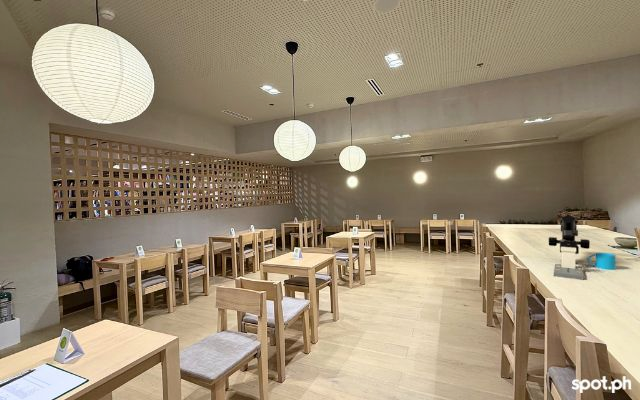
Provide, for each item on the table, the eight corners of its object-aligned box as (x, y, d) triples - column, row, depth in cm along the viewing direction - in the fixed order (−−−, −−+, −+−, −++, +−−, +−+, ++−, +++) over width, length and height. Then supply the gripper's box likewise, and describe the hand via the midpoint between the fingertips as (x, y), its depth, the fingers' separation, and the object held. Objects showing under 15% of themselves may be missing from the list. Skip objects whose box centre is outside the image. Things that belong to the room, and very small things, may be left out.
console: (555, 267, 176) (555, 263, 176) (582, 270, 168) (582, 266, 168) (553, 275, 159) (553, 272, 159) (583, 279, 151) (583, 275, 151)
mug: (615, 267, 171) (615, 254, 171) (615, 270, 165) (615, 256, 165) (587, 264, 180) (587, 251, 179) (586, 267, 174) (586, 253, 174)
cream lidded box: (560, 265, 171) (560, 246, 170) (575, 267, 167) (575, 247, 166) (560, 267, 168) (560, 247, 167) (576, 269, 164) (576, 249, 163)
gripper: (548, 224, 181) (547, 244, 173) (589, 225, 169) (590, 248, 161) (549, 235, 187) (548, 255, 179) (588, 237, 175) (589, 259, 167)
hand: (568, 254), depth 171 cm, fingers closed
